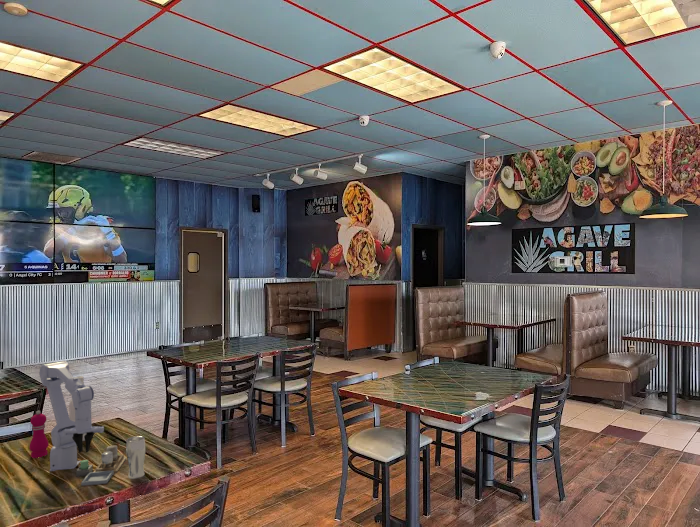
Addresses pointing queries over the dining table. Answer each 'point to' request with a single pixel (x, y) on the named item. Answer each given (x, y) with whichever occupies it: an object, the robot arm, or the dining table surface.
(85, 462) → the button
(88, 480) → the tray
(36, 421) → the pepper mill
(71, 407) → the alcohol
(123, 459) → the light brown divided box
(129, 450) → the beer glass
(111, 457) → the cylinder
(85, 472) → the switch box
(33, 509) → the dining table surface
